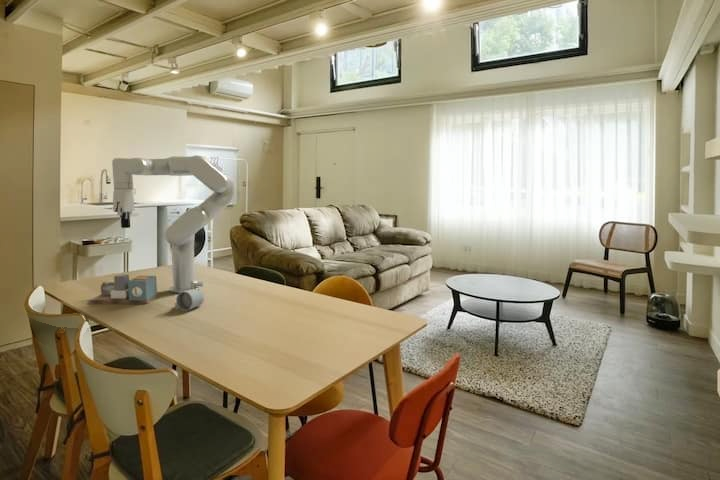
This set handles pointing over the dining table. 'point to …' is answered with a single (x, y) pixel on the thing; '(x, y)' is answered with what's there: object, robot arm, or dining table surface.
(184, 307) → the ceramic mug
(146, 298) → the gauge cabinet
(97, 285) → the dining table surface
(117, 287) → the grey stepped block
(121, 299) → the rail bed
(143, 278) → the button
